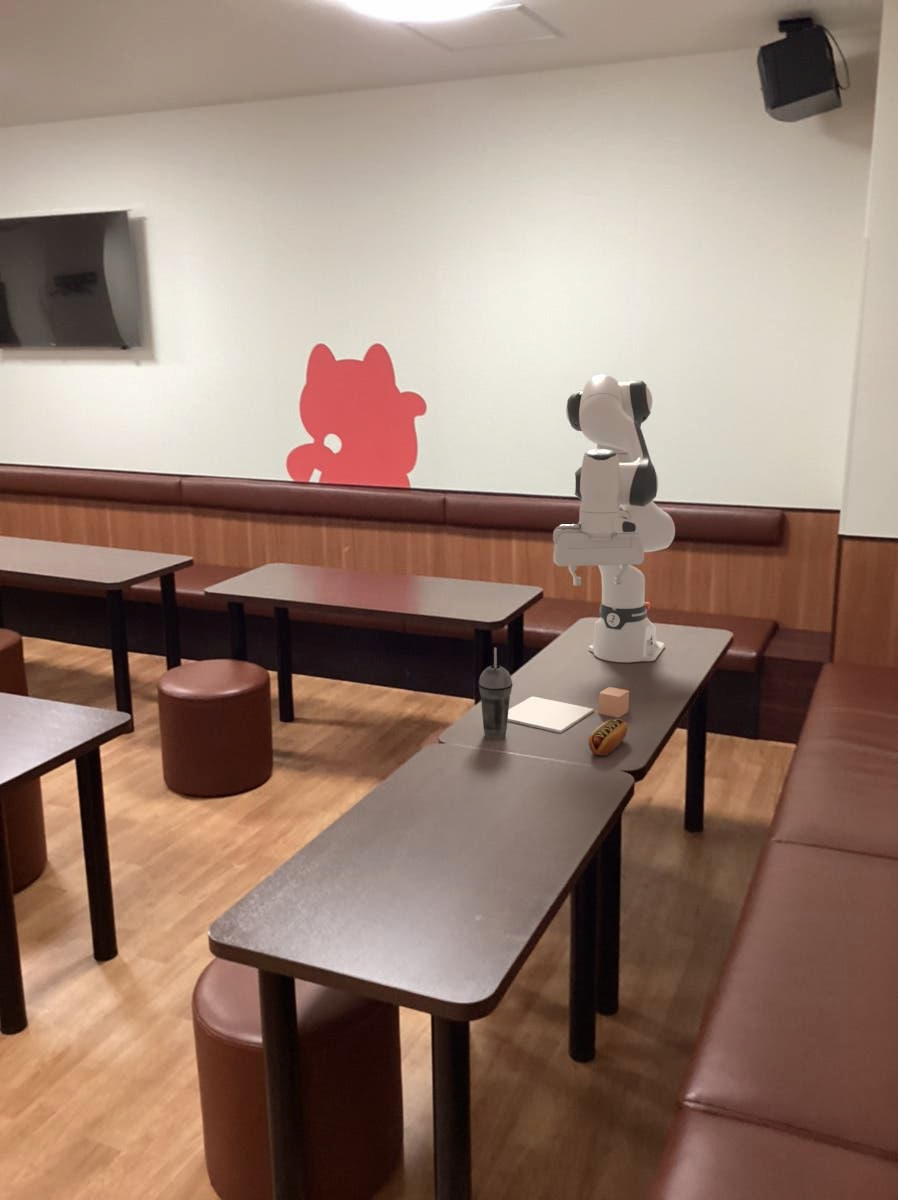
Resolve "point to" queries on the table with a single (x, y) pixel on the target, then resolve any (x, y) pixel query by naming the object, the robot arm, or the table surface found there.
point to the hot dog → (607, 736)
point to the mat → (547, 714)
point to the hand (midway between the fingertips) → (597, 584)
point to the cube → (613, 702)
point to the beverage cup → (495, 699)
